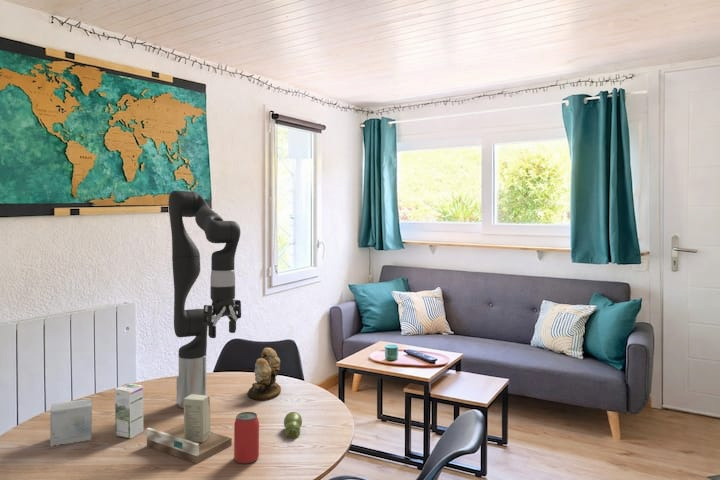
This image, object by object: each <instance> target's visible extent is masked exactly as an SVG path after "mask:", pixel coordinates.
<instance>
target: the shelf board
mask: <svg viewBox="0 0 720 480" xmlns="http://www.w3.org/2000/svg"><path fill="white" fill-rule="evenodd" d="M231 446H232V437H228V436H226V435H223V434H222V435H221V434H218V433H217V432H216V433H215V432H213V431H211V437H210V438H208V439H207V440H206V441H204V442H194V441H189V440H186V439H184V423H181V424H178V425H176V426H174V427H172V428H169V429H166V430H164V431H160V430H158V429H154V428H152V427H147V428H146V447H148V448H152V449H154V450H156V451H157V450H158V451H161V452H163V453H165V454H169V455H171V456H175V457H177V458H180V459H183V460H186V461H189V462H192V463H195V464H199V463H200V462H203V461H204V460H206V459H208V458H210V457H211V456H213V455H216V454H217V453H219V452H221V451H223V450H225V449H227V448H229V447H231Z"/></svg>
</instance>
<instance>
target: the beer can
mask: <svg viewBox="0 0 720 480" xmlns="http://www.w3.org/2000/svg"><path fill="white" fill-rule="evenodd" d="M233 425H234V426H233V427H234V428H233V429H234V430H233V431H234V434H233V435H234V436H233V437H234V438H233V441H234V443H233V447H234V448H233V453H234V454H233V456H234V457H233V459H234V461H235V462H236V463H239V464H244V465H245V464H251V463H253V462H255V461H257V460H258V458H259V457H260V456H259V455H260V440H259V439H260V421H259V418H258V414H257V413H256V412H254V411H244V412H239V413H238V414H236V416H235V420H234V424H233Z"/></svg>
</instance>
